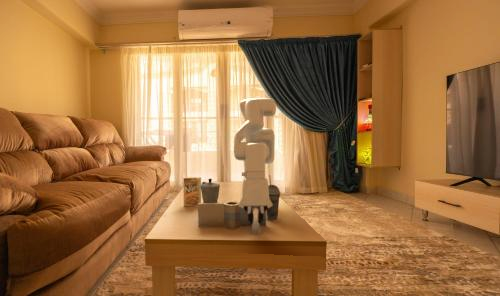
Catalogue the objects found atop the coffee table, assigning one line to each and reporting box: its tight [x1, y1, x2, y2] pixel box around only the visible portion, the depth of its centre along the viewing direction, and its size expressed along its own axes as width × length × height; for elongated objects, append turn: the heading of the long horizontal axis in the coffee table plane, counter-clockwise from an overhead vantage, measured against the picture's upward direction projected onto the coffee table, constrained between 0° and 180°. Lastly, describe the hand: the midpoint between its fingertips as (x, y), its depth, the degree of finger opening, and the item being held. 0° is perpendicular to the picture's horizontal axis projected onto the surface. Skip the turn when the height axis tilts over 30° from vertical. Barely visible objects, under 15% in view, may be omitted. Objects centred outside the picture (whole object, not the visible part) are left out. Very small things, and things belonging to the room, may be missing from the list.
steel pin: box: [251, 206, 261, 236], centre depth 104 cm, size 3×3×12 cm
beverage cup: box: [266, 174, 281, 222], centre depth 121 cm, size 7×7×20 cm
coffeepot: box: [201, 178, 221, 203], centre depth 126 cm, size 15×9×18 cm, turn 33°
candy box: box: [182, 176, 202, 207], centre depth 148 cm, size 9×4×15 cm, turn 87°
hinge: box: [197, 200, 267, 230], centre depth 112 cm, size 28×7×10 cm, turn 92°
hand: (255, 222), depth 104 cm, fingers closed on steel pin, 3 cm apart
